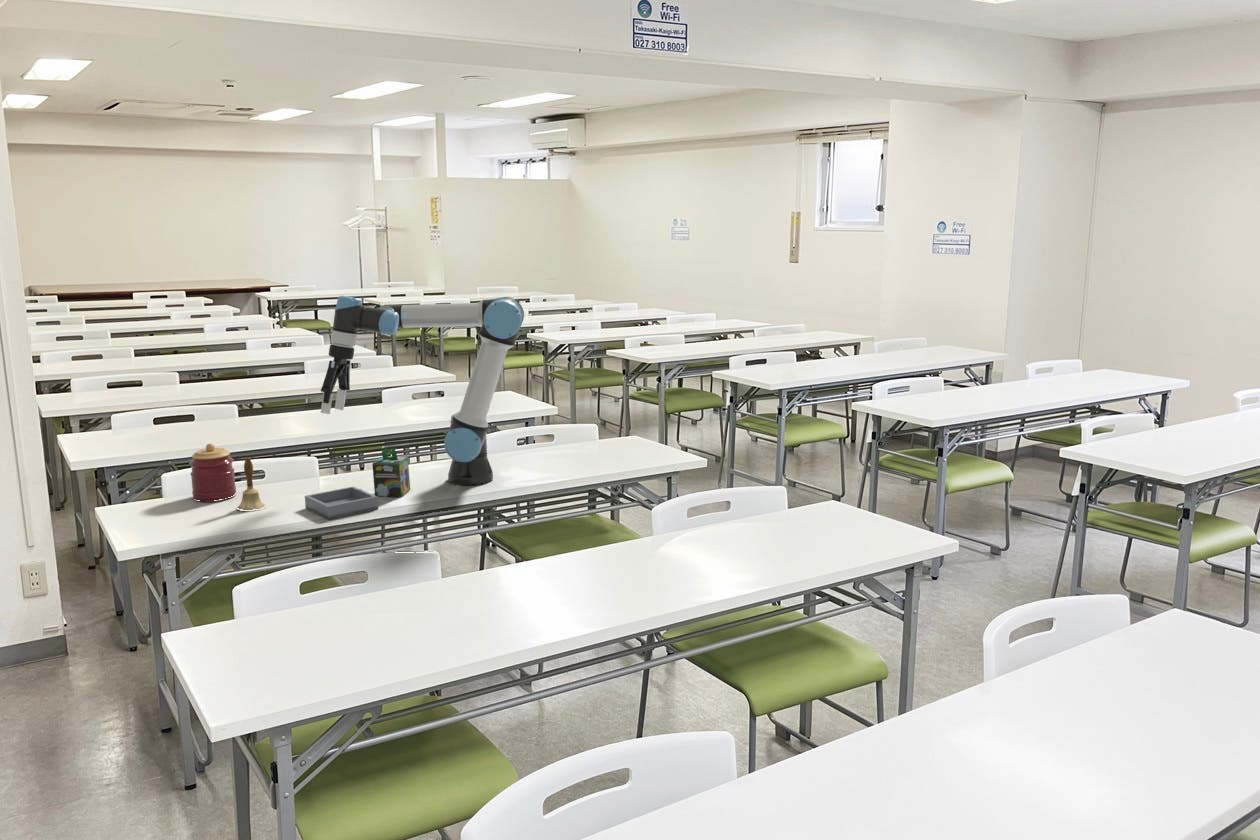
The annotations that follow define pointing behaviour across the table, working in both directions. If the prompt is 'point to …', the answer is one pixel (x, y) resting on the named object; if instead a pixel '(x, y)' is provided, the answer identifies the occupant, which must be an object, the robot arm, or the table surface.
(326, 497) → the tray
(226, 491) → the canister
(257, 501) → the hand bell
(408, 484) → the chalk box
